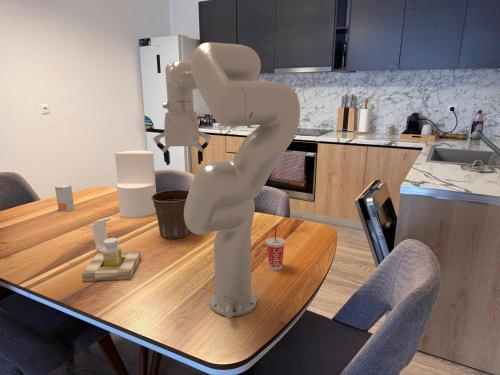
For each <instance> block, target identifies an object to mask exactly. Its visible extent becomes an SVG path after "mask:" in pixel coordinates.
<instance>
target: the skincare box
mask: <svg viewBox="0 0 500 375" xmlns="http://www.w3.org/2000/svg"><path fill="white" fill-rule="evenodd" d="M54 189H55V196H56V201H57V209H58V211H63V212H70V211H73V210H75V202H74V196H73V195H74V194H73V190H72V189H73V188H72V185H68V184H59V185H56V186H54Z"/></svg>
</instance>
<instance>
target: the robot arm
mask: <svg viewBox="0 0 500 375" xmlns="http://www.w3.org/2000/svg"><path fill="white" fill-rule="evenodd" d="M261 65H262V63H261V59H260V57H259V54H258V53H257V52H256V51H255V50H254V49H253V48H251V47H249V46H247V45H243V44H237V43H224V42H211V41H210V42H204V43H203V42H202V43H201V44H198V46H196V48H195V49H194V51H193V53H192V55H191V59H190V60H180V59H179V60H175V61H173V62H172V63H169V64H166V66H165V68H164V69H165V84H166V98H167V101H166V102H165V103H162V108H163V109H166V110H167V112H164V114H165V115H164V122H163V123H164V131H163V132H161V133H160V134H158V135H156V136H153V137H152V138H153V141H154V143H155V144H156V146H157V148H158V149H160V150H161V151H162V152H163V160H164V163H165V164H166V166H169V165H170V164H171V156H170V154H171V153H170V151H169V148H170V147H195V148H197V164H198V165H202V164H201V163H202V162H203V161H204V150H205V149H206V148H207V147H208V145H209V144H210V141H211V139H212V137H211V135H209V134H207V133H205V132H203V131H201V130H200V128H199V120H198V114H197V111H194V94H193V93H194V91H193V90H198V91H199V93H200V94H201V97H202V99H203V100H204V102H205V104H206V106H207V107H208V110H209V111H210V113H211V116H212V118H214V120H215V121H216V122H217V123H218V124H219V125H221V126H225V127H229V128H230V127H231V128H233V127H234V128H236V127H247V126H258V127H256V128H255V129H254V130H253V131H251V133H249V134H248V135H247V136H246V137H245V138H244V139H243V141H242V142H241V143H240V146H239V148H238V150H237V153H236V154H235V156H234V157H233V158H232V159H230V160H225V161H218V162H217V161H216V162H211V163H206V164H205V165H202V166H200V168H198V170H196V172H195V174H194V176H193V179H192V182H191V185H190V187H189V190H188V191H189V193H188V196H187V199H186V203H185V207H184V220H185V224H186V226H187V228H188V229H189V230H190V231H191V232H190V233H193V234H195V235H206V234H210V233H215V232H216V234H215V237H214V239H213V240H214V241H213V263H214V264H213V266H214V267H213V268H214V269H213V270H214V287H215V288H214V290H215V291H214V292H213V293H212V295H210V297H209V305H210V308H211V309H212V310H213V312H215V313H216V314H219V315H222V316H224V317H226V318H227V319H229V318H232V317H239V316H244V315H246V314H249V313H251V312H252V311H253V310H254V309H255V308H256V306H257V303H258V297H257V295H256V293H255V292H254V291H252V256H251V255H252V248H251V247H252V228H253V227H252V226H253V222H254V217H255V211H256V210H255V209H256V208H255V207H256V206H255V200H254V199H255V198H256V197H258V195H260V193H261V191H262V190H263V188H264V186H265V185H266V183H267V181H268V179H269V178H270V177H271V174H272V172H273V171H274V168H275V167H276V165H277V163H278V162H279V161H280V159H281V157H282V156H283V155H284V153H285V152H286V151H287V149H288V147H289V146H290V144H291V143H292V142H293V140H294V137H295V136H296V134H297V131H298V129H299V128H298V127H299V125H300V119H301V106H300V99H299V97H298V94H297V92H296V91H295V90H294V89H293V88H292V86H290V85H288V84H285V83H284V82H280V81H272V80H256V79H257V78H258V77H259V74H260V73H261V67H262V66H261ZM200 137H202V138H203V139H205V141H204V143H202V144H201V142H200ZM162 138H164V144H165V145H164V144H163V143H162V142H161V140H160V139H162Z"/></svg>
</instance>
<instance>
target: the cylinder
mask: <svg viewBox="0 0 500 375" xmlns="http://www.w3.org/2000/svg"><path fill="white" fill-rule="evenodd" d="M114 155H115V156H114V158H115V167H116V175H117V177H116V178H117V184H116V191H117V199H118V208H119V215H120V216H121V217H123V218H132V219H134V218H136V219H137V218H144V217H149V216H151V215H154V214H156V209H155V207H154V203H153V200H152V199H151V197H152V195H154V194H155V193H157V184H156V173H155V160H154V159H155V158H154V151H150V150H125V151H119V152H114Z"/></svg>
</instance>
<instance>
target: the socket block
mask: <svg viewBox="0 0 500 375" xmlns="http://www.w3.org/2000/svg"><path fill="white" fill-rule="evenodd" d="M121 255H122V264H121V266H115V267H105V265H104V258H103V253H101V252H97V254H96V255H95V256H94V257H93V258H92V260H91V261H90V263H89V264H88V265H87V266H86V268H85V269H84V270H83V271H82V272H81V277H82V282H94V281H95V282H96V281H116V280H117V281H119V280H131V279H132V277H133V275H134V273H135V270H136V268H137V266H138V265H139V262H140V260H141V259H142V258H141V251H140V250H139V251H121Z"/></svg>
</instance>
